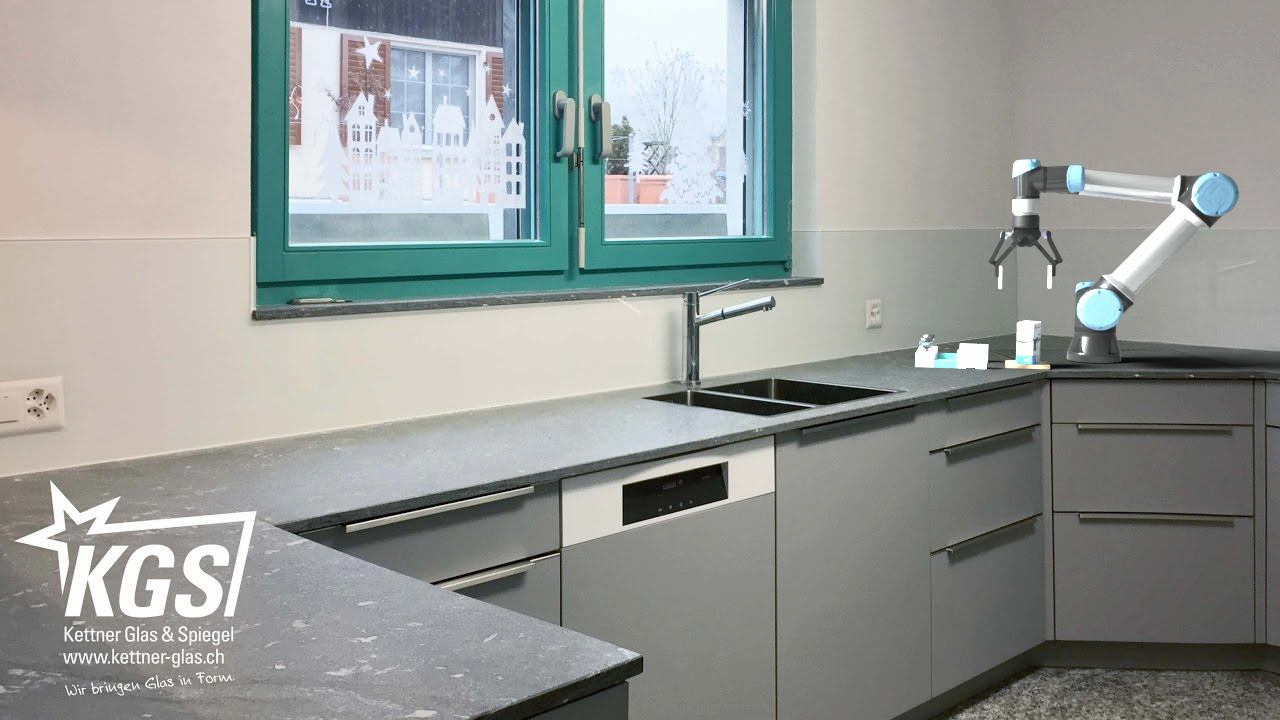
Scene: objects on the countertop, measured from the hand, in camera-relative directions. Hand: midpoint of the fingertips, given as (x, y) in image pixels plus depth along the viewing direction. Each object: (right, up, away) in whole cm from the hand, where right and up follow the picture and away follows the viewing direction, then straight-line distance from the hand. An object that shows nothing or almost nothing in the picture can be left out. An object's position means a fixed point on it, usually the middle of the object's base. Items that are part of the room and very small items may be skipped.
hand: (1024, 288), depth 349 cm
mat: (-1, -22, -4) cm, 23 cm away
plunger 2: (-29, -21, -1) cm, 36 cm away
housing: (-20, -22, +2) cm, 30 cm away
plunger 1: (-26, -20, +9) cm, 34 cm away
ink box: (0, -22, -4) cm, 22 cm away
